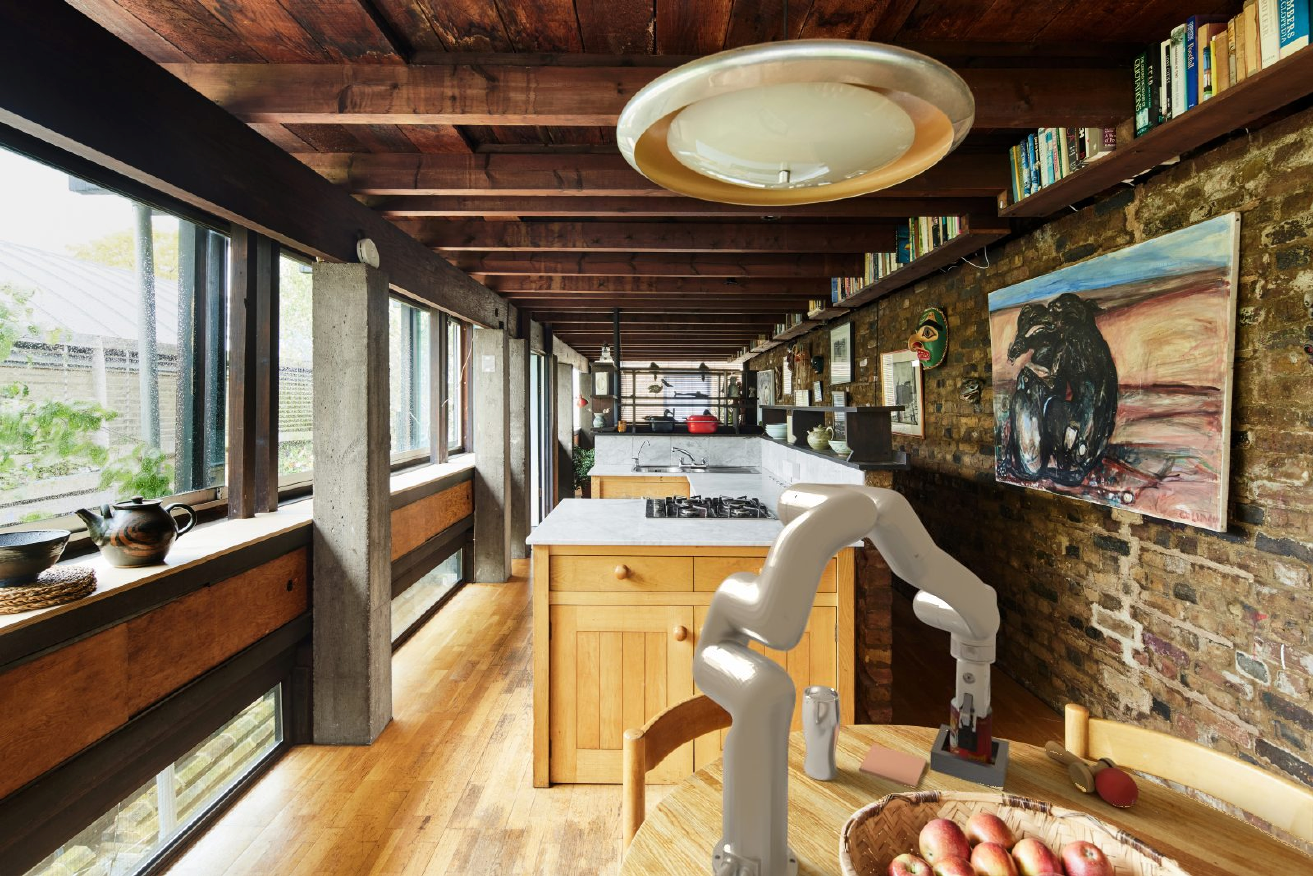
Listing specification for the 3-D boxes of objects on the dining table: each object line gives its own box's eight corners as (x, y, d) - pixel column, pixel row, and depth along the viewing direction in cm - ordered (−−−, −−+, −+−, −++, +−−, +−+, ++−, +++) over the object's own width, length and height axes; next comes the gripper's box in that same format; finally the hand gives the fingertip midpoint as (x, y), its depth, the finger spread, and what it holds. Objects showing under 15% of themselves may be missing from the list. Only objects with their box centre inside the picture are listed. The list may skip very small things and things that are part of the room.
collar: (1003, 791, 109) (1003, 772, 109) (930, 769, 116) (930, 751, 116) (1008, 759, 119) (1009, 741, 119) (941, 740, 126) (941, 724, 126)
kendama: (1030, 765, 120) (1108, 811, 102) (1033, 731, 121) (1111, 772, 103) (1066, 769, 121) (1150, 816, 103) (1068, 736, 121) (1153, 777, 104)
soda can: (942, 754, 121) (944, 693, 120) (977, 753, 121) (979, 692, 121) (961, 776, 114) (963, 711, 113) (999, 775, 114) (1001, 710, 113)
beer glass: (844, 782, 112) (845, 702, 111) (805, 782, 112) (806, 701, 111) (834, 760, 119) (835, 684, 118) (797, 760, 119) (798, 684, 118)
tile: (915, 789, 110) (915, 786, 110) (858, 771, 115) (859, 768, 115) (926, 762, 118) (926, 759, 118) (873, 746, 124) (873, 743, 124)
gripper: (990, 669, 107) (987, 767, 108) (999, 638, 122) (997, 725, 122) (943, 660, 111) (941, 754, 112) (957, 631, 126) (955, 714, 127)
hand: (970, 738), depth 117 cm, fingers open, 8 cm apart
